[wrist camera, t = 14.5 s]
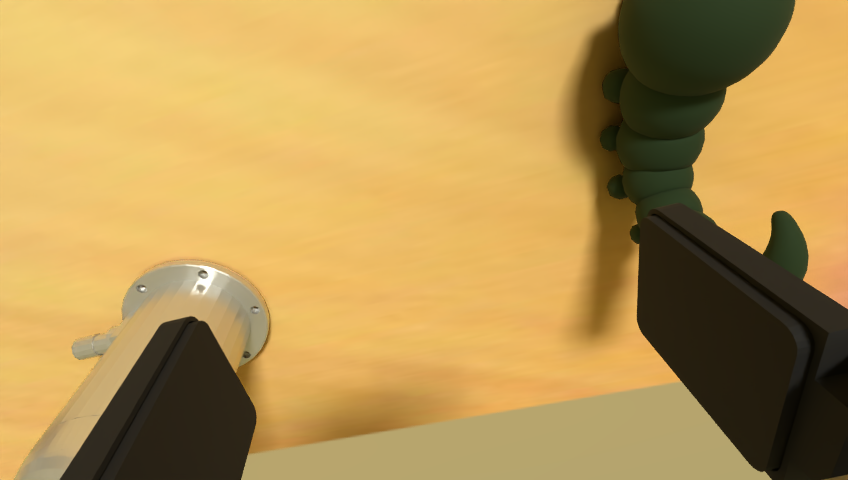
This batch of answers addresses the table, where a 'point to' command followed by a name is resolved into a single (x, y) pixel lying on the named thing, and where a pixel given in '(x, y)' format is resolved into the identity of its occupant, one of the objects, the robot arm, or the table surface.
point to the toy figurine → (687, 99)
